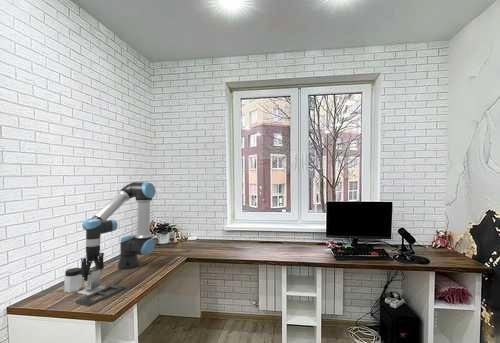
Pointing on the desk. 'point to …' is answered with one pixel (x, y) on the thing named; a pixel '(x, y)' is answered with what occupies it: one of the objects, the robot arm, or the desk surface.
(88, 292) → the parts mat
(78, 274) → the jar
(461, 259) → the desk surface
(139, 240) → the robot arm
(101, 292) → the rack rail
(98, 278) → the pale translucent bottle
